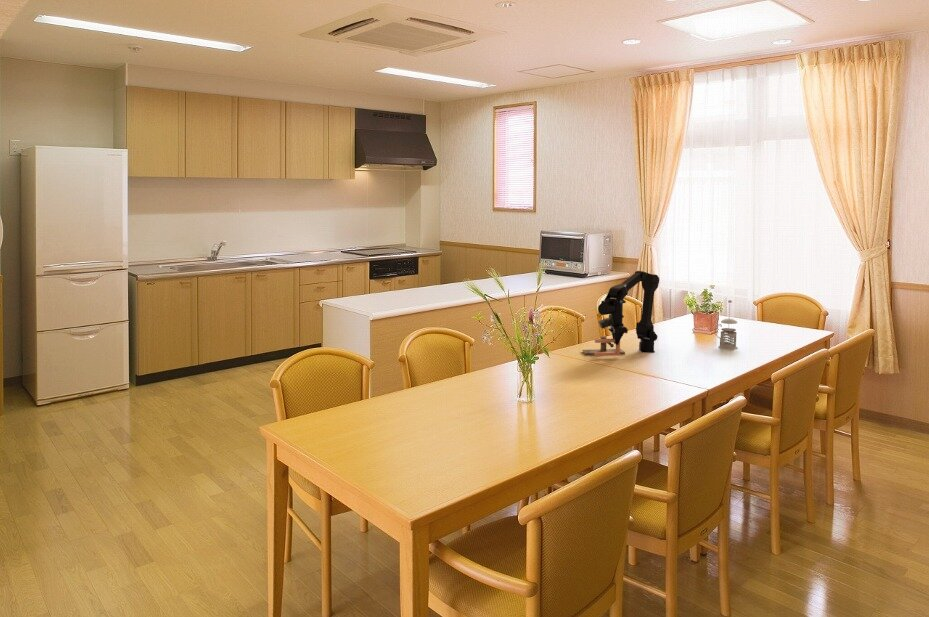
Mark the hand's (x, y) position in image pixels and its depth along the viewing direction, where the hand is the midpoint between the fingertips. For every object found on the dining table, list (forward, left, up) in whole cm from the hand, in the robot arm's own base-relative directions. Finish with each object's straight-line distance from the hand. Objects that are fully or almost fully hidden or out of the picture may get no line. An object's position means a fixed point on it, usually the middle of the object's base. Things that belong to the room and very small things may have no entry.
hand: (616, 344), depth 345 cm
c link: (+4, 0, -5) cm, 7 cm away
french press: (-63, -17, -7) cm, 65 cm away
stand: (+3, -4, -7) cm, 9 cm away
